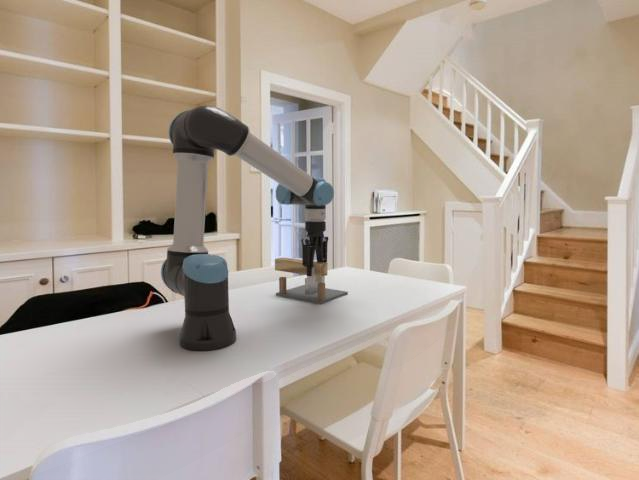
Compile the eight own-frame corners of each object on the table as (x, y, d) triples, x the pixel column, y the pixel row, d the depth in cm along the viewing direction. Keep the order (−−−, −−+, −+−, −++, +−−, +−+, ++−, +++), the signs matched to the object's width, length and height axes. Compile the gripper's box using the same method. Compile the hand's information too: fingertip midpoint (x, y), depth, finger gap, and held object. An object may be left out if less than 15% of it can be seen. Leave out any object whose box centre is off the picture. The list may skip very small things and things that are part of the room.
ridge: (309, 296, 163) (309, 279, 162) (305, 296, 165) (304, 278, 164) (324, 291, 171) (324, 274, 170) (320, 291, 173) (320, 274, 172)
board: (320, 304, 153) (320, 285, 152) (275, 295, 166) (275, 278, 165) (347, 294, 167) (347, 276, 166) (304, 287, 180) (304, 270, 179)
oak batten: (320, 276, 151) (320, 264, 151) (274, 270, 164) (274, 258, 164) (327, 275, 155) (327, 263, 155) (282, 268, 168) (282, 257, 168)
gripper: (308, 222, 144) (308, 288, 147) (337, 220, 158) (336, 281, 161) (291, 221, 149) (291, 286, 151) (321, 219, 163) (320, 278, 165)
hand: (314, 283), depth 156 cm, fingers closed on oak batten, 4 cm apart
